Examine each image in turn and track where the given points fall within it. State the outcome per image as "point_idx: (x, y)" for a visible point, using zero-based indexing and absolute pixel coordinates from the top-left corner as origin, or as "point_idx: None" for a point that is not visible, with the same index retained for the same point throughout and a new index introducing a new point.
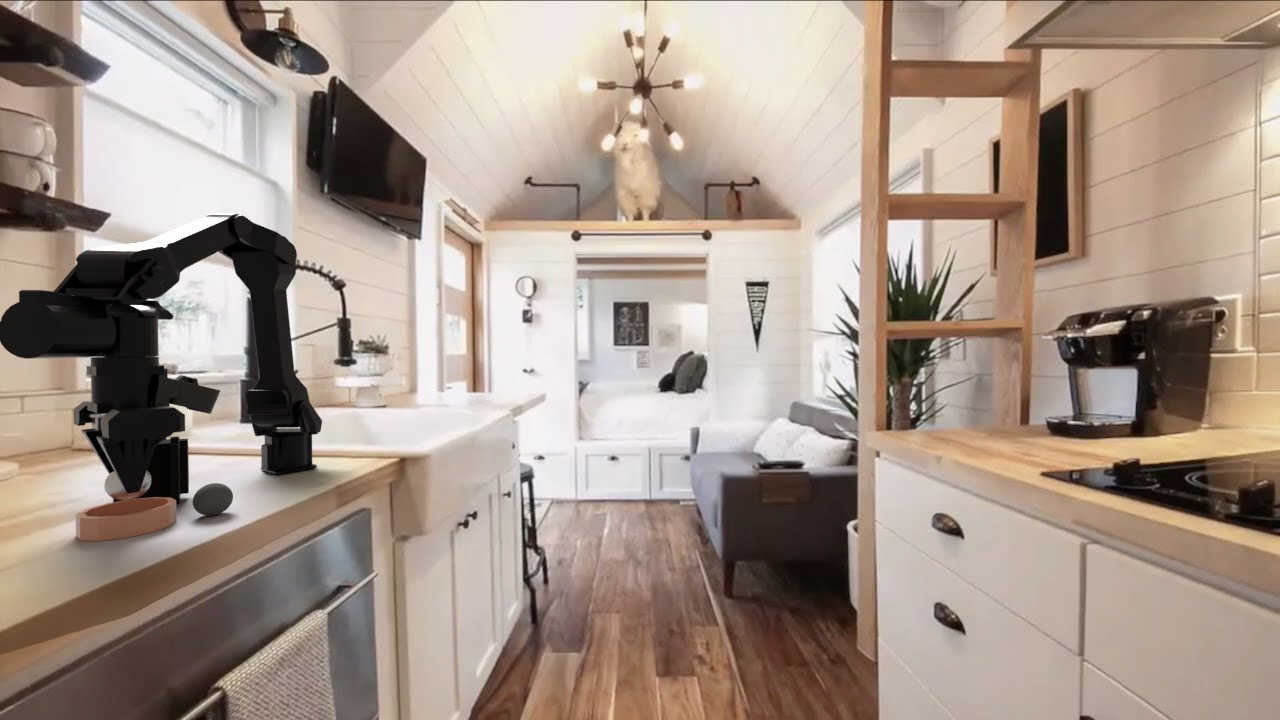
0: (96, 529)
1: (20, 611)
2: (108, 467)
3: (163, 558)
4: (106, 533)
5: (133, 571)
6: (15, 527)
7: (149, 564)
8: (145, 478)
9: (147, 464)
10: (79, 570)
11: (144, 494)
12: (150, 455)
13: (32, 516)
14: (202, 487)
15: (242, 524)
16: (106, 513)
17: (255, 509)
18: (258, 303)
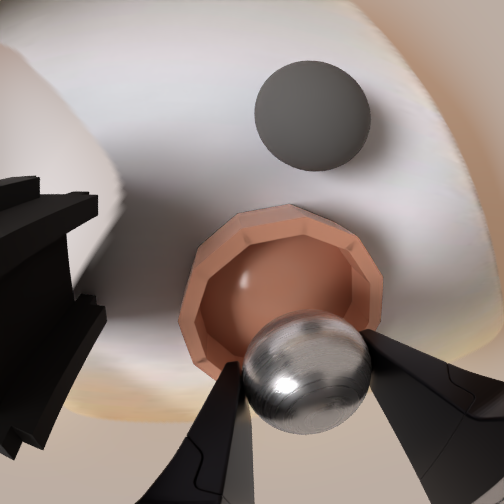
0: None
1: (495, 336)
2: (252, 452)
3: (488, 243)
4: None
5: (496, 271)
6: (122, 418)
7: (492, 257)
8: (359, 340)
9: (444, 364)
10: (452, 323)
11: (60, 281)
12: (479, 377)
13: None
14: (332, 142)
15: (427, 104)
16: (211, 348)
17: (315, 36)
18: None
